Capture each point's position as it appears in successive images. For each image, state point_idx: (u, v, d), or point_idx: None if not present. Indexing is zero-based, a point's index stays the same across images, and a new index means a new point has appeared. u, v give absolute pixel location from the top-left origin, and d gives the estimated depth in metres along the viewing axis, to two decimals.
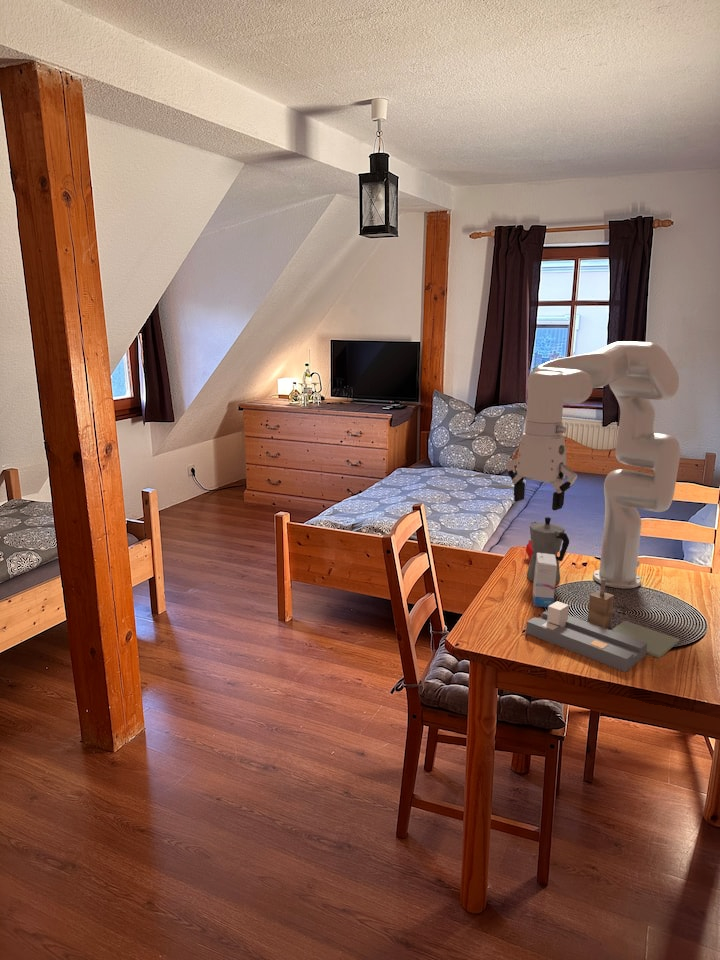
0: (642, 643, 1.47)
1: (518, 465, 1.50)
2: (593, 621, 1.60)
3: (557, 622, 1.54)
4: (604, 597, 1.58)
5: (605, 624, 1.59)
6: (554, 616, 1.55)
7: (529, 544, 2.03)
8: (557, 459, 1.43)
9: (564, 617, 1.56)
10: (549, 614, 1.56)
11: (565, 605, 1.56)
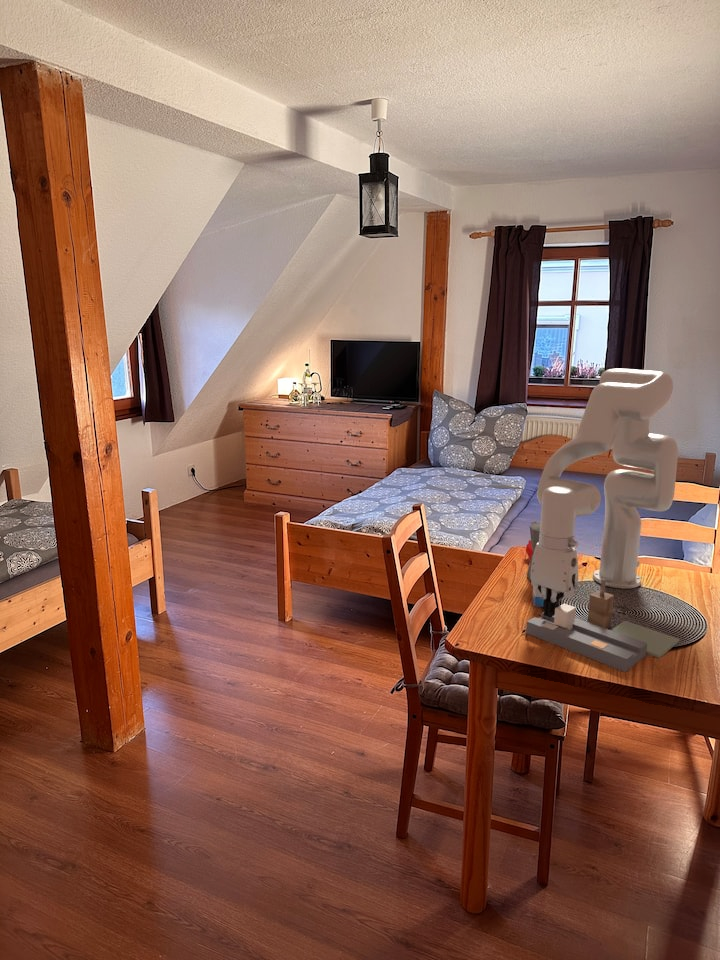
0: (642, 643, 1.47)
1: (532, 572, 1.57)
2: (593, 621, 1.60)
3: (564, 625, 1.53)
4: (604, 597, 1.58)
5: (605, 624, 1.59)
6: (561, 619, 1.53)
7: (529, 544, 2.03)
8: (569, 572, 1.50)
9: (571, 619, 1.54)
10: (556, 616, 1.54)
11: (572, 607, 1.54)
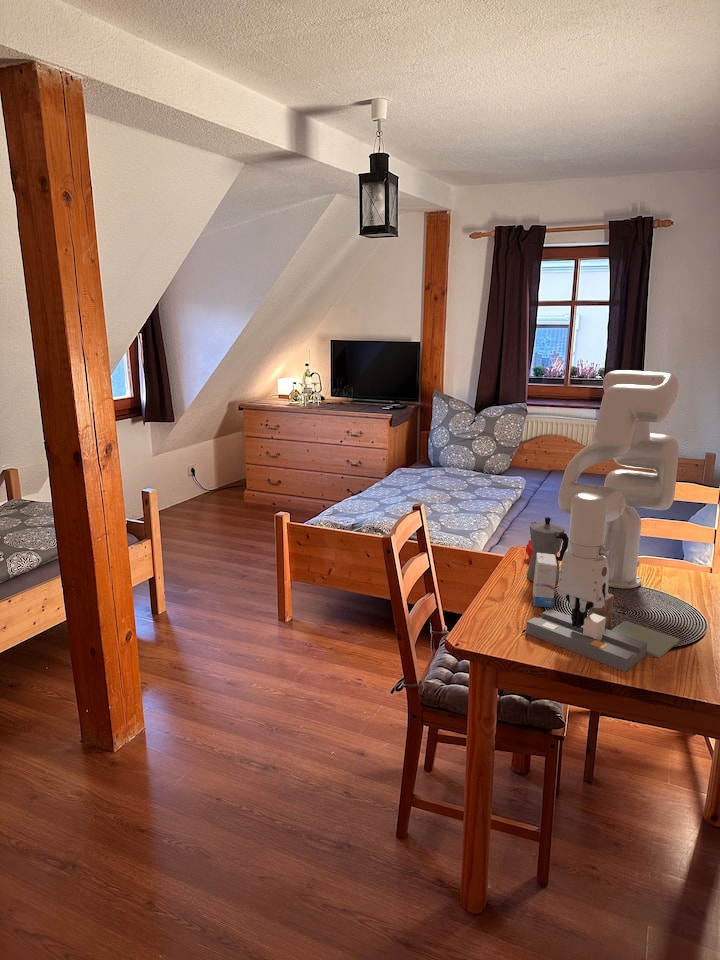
0: (642, 643, 1.47)
1: (560, 581, 1.52)
2: None
3: (594, 635, 1.48)
4: None
5: (605, 624, 1.59)
6: (591, 629, 1.48)
7: (529, 544, 2.03)
8: (600, 581, 1.45)
9: (601, 630, 1.49)
10: (585, 627, 1.49)
11: (602, 618, 1.49)
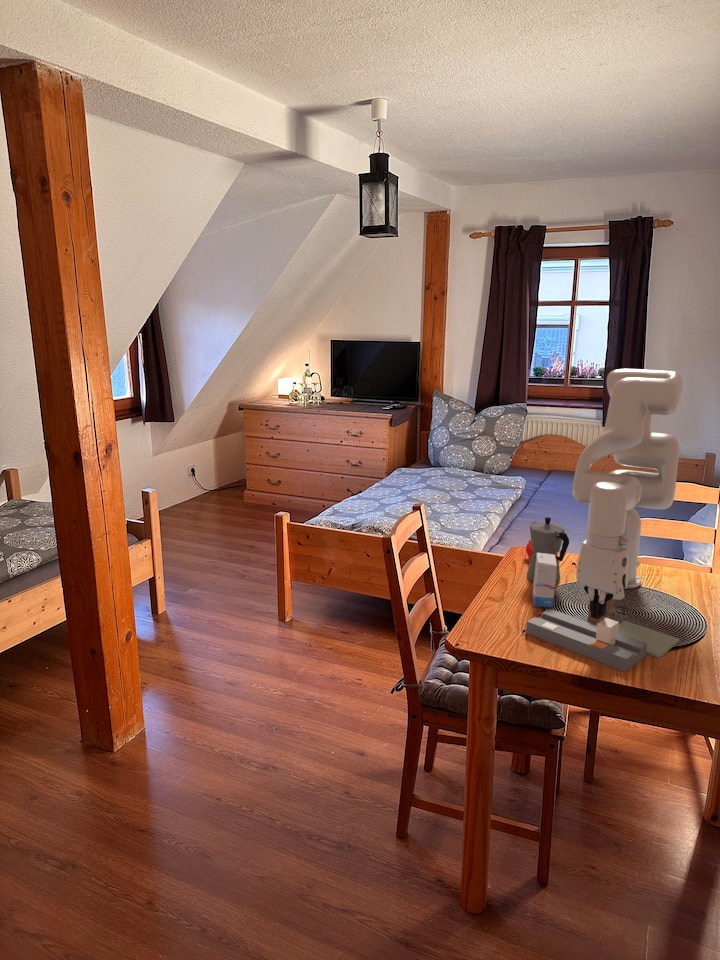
0: (642, 643, 1.47)
1: (578, 573, 1.49)
2: (593, 621, 1.60)
3: (607, 640, 1.46)
4: None
5: None
6: (604, 634, 1.46)
7: (529, 544, 2.03)
8: (620, 572, 1.42)
9: (614, 635, 1.47)
10: (598, 632, 1.47)
11: (615, 622, 1.47)
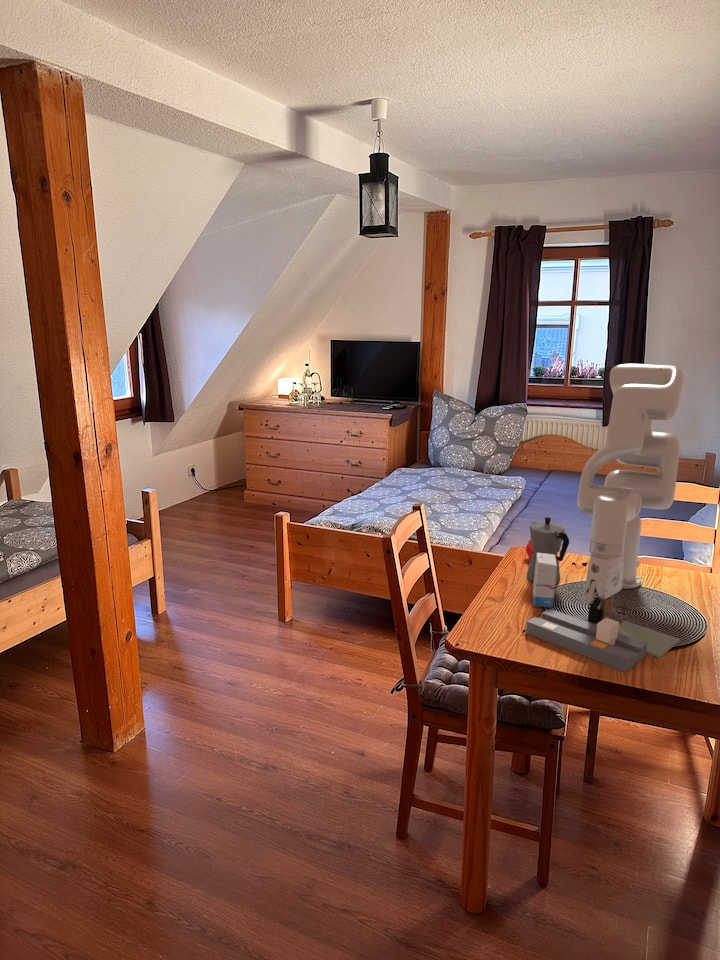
0: (642, 643, 1.47)
1: None
2: None
3: (607, 640, 1.46)
4: None
5: None
6: (604, 634, 1.46)
7: (529, 544, 2.03)
8: (588, 574, 1.56)
9: (614, 635, 1.47)
10: (598, 632, 1.47)
11: (615, 622, 1.47)
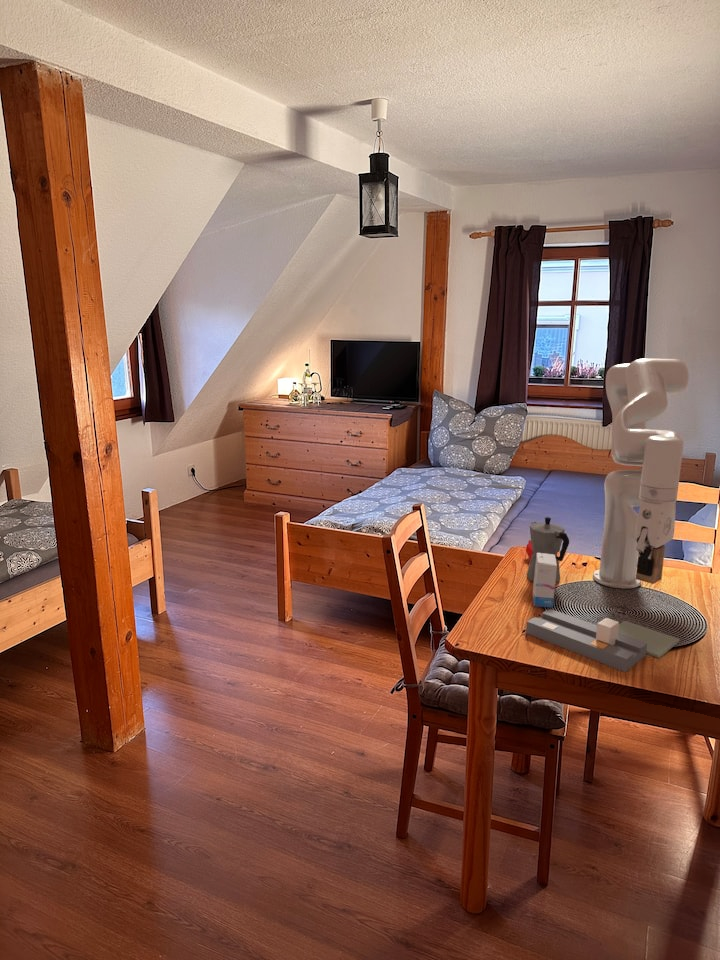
0: (642, 643, 1.47)
1: None
2: None
3: (607, 640, 1.46)
4: None
5: (656, 577, 1.49)
6: (604, 634, 1.46)
7: (529, 544, 2.03)
8: (639, 521, 1.45)
9: (614, 635, 1.47)
10: (598, 632, 1.47)
11: (615, 622, 1.47)
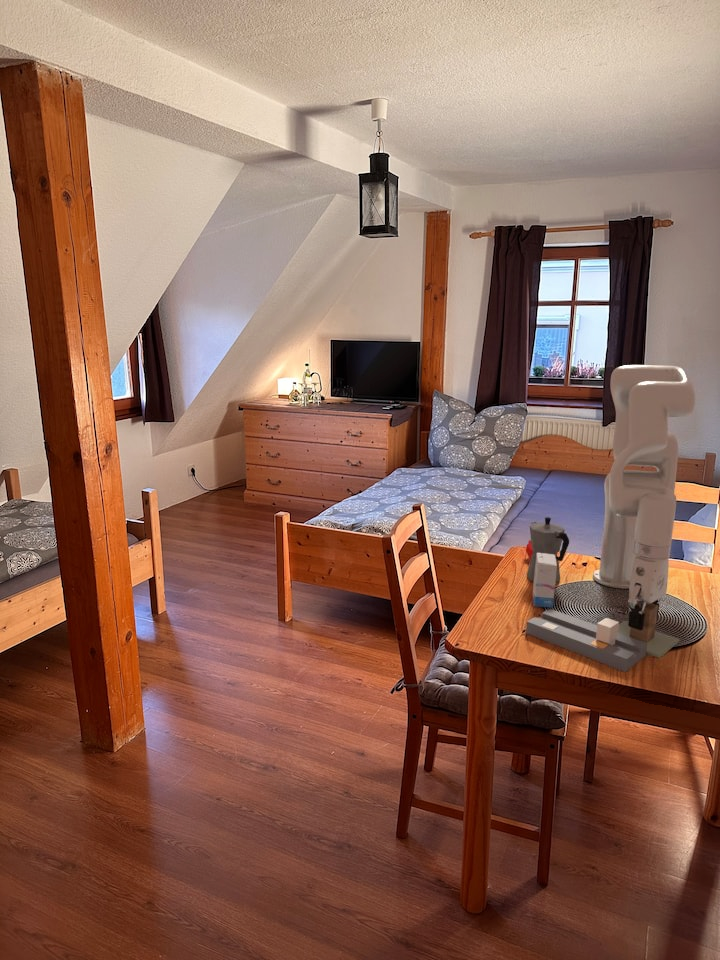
0: (642, 643, 1.47)
1: None
2: (636, 632, 1.53)
3: (607, 640, 1.46)
4: (648, 607, 1.51)
5: (649, 636, 1.52)
6: (604, 634, 1.46)
7: (529, 544, 2.03)
8: (633, 577, 1.48)
9: (614, 635, 1.47)
10: (598, 632, 1.47)
11: (615, 622, 1.47)
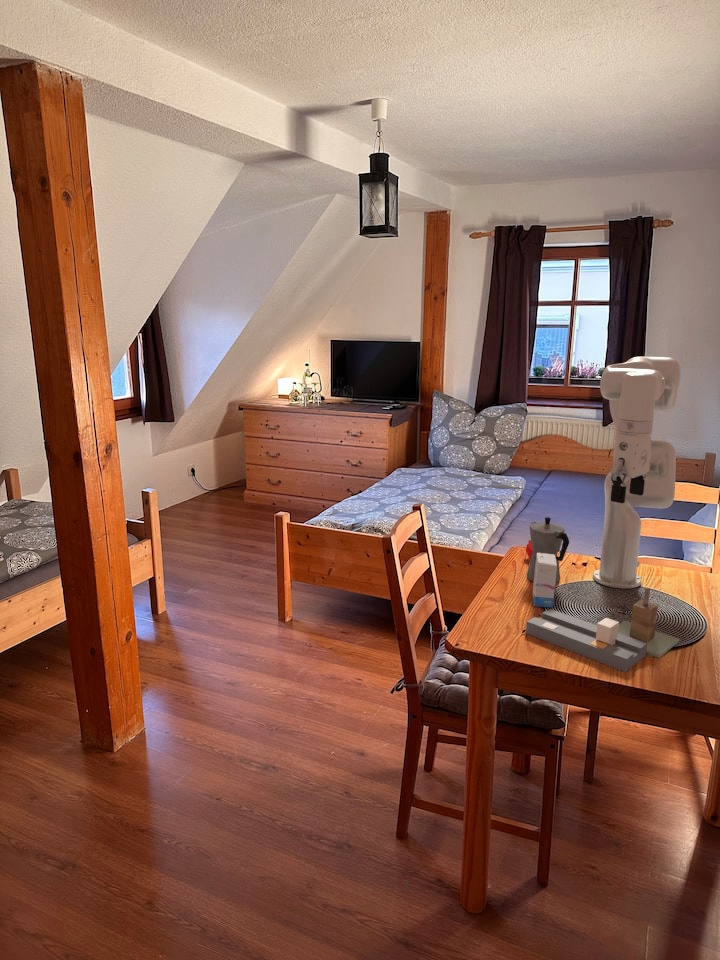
0: (642, 643, 1.47)
1: None
2: (636, 632, 1.53)
3: (607, 640, 1.46)
4: (648, 607, 1.51)
5: (649, 636, 1.52)
6: (604, 634, 1.46)
7: (529, 544, 2.03)
8: (616, 453, 1.54)
9: (614, 635, 1.47)
10: (598, 632, 1.47)
11: (615, 622, 1.47)
